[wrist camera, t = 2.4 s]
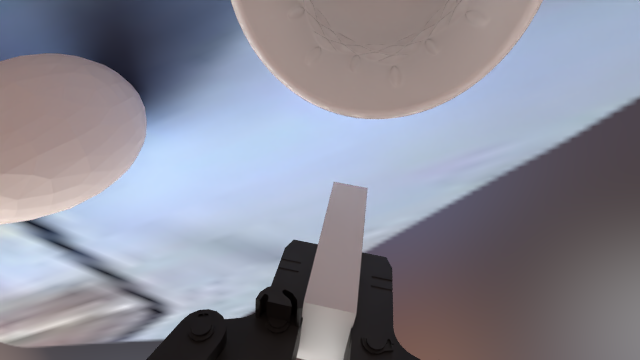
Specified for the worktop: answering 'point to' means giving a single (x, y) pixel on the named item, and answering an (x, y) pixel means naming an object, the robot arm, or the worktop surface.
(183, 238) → the worktop surface
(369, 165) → the worktop surface
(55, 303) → the worktop surface
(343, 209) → the robot arm
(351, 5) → the white cup
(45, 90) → the egg
